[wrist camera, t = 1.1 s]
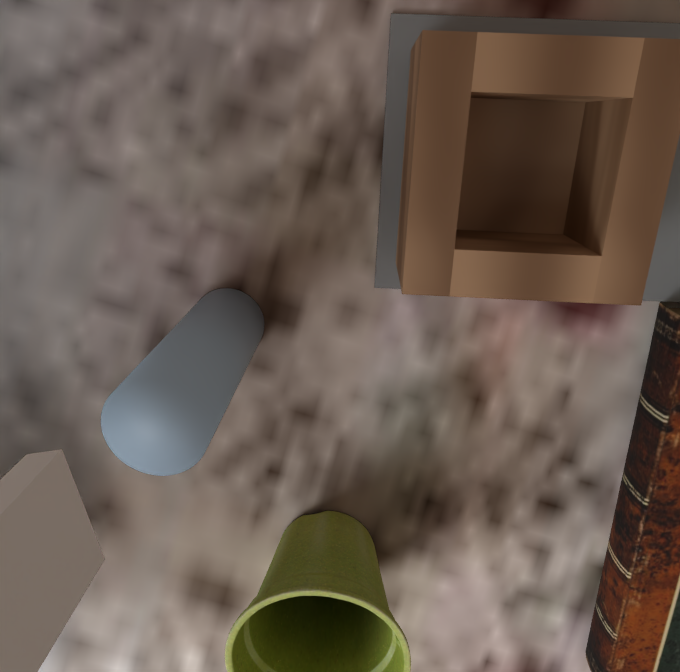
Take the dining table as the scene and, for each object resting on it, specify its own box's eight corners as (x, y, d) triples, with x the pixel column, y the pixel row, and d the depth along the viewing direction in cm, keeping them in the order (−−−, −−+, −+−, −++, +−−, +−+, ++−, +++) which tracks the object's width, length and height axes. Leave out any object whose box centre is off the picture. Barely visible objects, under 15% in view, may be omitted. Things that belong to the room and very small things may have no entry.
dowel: (195, 354, 33) (106, 472, 22) (191, 286, 32) (95, 375, 21) (264, 357, 33) (211, 478, 22) (264, 290, 32) (207, 381, 20)
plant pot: (295, 461, 35) (274, 562, 27) (428, 525, 37) (446, 641, 28) (231, 567, 38) (195, 687, 30) (356, 623, 40) (354, 753, 31)
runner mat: (374, 286, 31) (374, 287, 31) (390, 14, 27) (391, 13, 27) (742, 304, 31) (745, 305, 31) (821, 29, 26) (826, 28, 26)
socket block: (395, 262, 30) (402, 294, 25) (410, 49, 27) (422, 29, 21) (589, 271, 30) (640, 305, 24) (630, 57, 27) (701, 39, 21)
